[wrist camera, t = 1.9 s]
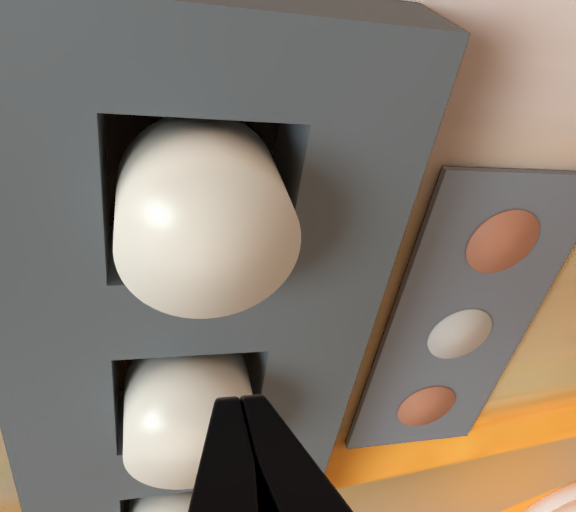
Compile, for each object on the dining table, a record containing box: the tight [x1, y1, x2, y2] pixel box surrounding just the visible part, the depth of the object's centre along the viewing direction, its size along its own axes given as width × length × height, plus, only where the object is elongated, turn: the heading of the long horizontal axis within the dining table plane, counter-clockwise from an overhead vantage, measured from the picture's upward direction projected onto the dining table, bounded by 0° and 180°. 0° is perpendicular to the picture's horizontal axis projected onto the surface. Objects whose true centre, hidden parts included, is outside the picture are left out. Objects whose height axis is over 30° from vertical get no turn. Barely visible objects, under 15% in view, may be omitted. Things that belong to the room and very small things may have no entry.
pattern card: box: [345, 166, 576, 449], centre depth 24 cm, size 16×7×1 cm, turn 171°
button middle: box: [123, 353, 253, 490], centre depth 19 cm, size 4×4×3 cm
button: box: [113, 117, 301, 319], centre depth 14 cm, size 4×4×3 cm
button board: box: [0, 0, 470, 512], centre depth 20 cm, size 26×12×3 cm, turn 171°
